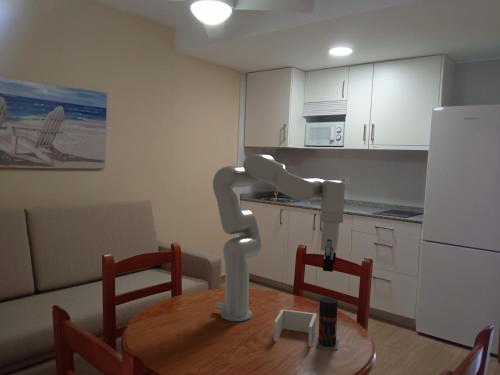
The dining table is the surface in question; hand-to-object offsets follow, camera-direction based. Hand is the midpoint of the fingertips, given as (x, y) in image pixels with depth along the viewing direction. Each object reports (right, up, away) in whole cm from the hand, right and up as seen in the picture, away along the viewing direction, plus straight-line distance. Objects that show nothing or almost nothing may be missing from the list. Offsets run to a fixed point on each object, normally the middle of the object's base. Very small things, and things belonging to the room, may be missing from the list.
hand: (329, 267), depth 132 cm
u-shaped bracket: (-11, -26, +6) cm, 29 cm away
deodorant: (0, -27, +2) cm, 27 cm away
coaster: (0, -27, +2) cm, 27 cm away
